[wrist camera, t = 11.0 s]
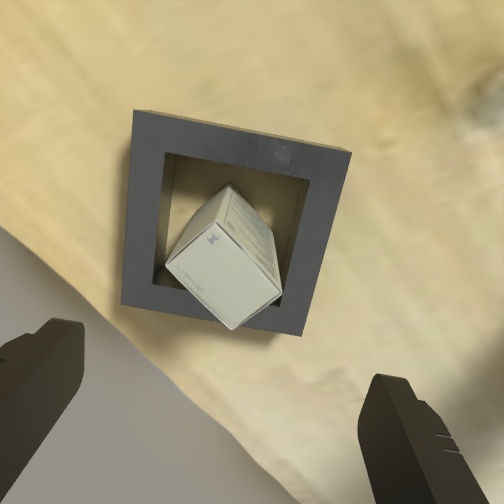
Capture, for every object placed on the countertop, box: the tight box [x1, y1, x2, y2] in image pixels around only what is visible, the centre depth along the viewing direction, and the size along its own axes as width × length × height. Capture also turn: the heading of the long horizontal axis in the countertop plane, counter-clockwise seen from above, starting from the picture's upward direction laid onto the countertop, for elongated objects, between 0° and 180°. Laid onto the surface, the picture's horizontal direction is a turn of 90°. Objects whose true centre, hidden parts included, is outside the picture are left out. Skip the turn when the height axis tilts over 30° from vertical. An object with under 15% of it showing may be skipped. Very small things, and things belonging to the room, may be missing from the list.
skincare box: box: [165, 183, 282, 330], centre depth 27 cm, size 6×4×12 cm
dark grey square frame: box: [121, 110, 352, 337], centre depth 31 cm, size 16×16×4 cm
